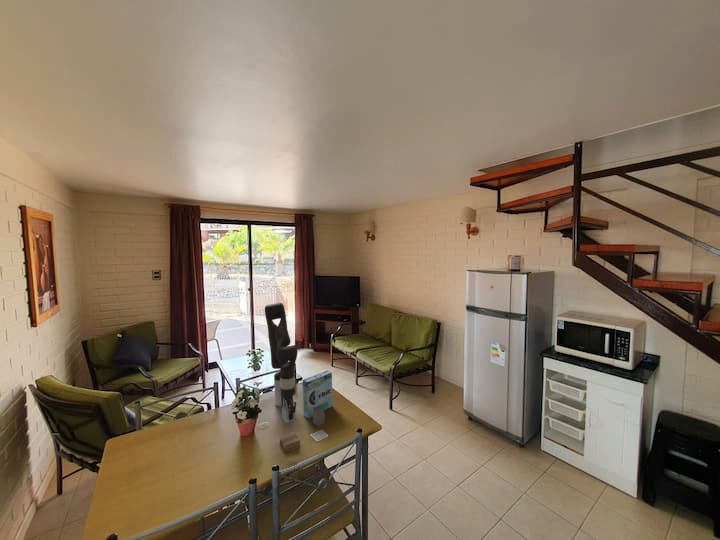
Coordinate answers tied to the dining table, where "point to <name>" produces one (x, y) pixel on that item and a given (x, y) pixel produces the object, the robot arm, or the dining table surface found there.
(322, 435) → the swatch
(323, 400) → the gum box
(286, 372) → the robot arm
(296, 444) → the walnut block
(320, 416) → the translucent grey cup
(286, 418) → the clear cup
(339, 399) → the dining table surface
